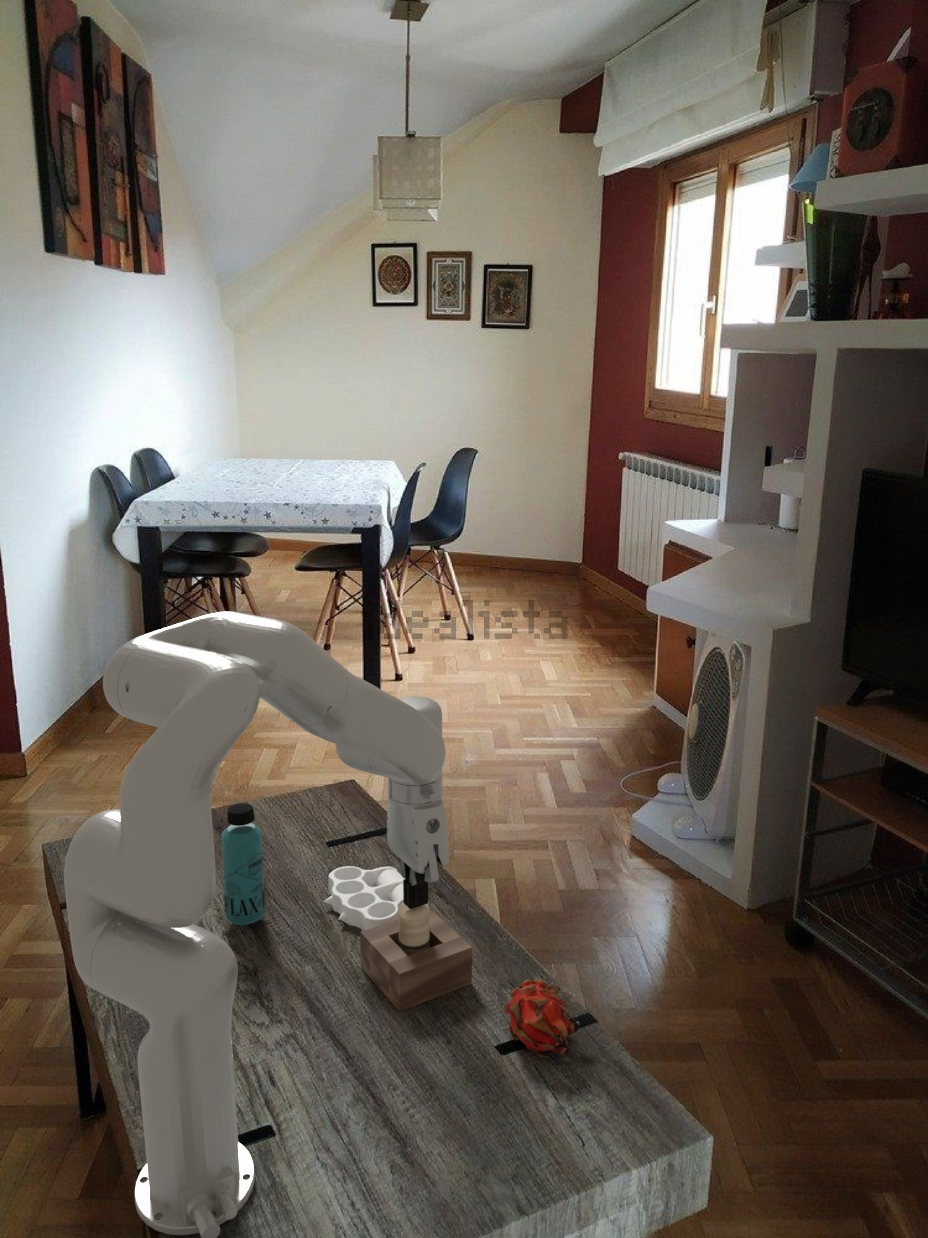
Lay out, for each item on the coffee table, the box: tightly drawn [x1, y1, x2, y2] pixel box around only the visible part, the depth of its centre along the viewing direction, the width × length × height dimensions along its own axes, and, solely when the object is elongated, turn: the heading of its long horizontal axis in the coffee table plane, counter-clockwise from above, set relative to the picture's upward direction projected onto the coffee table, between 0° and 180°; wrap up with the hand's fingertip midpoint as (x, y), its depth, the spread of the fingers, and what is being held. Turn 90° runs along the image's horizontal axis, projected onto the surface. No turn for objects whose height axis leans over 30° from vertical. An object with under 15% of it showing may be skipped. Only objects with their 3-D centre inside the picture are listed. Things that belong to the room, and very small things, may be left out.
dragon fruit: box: [503, 977, 581, 1059], centre depth 130 cm, size 8×8×12 cm
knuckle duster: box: [322, 865, 429, 931], centre depth 162 cm, size 3×18×15 cm
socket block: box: [359, 907, 473, 1012], centre depth 144 cm, size 12×12×6 cm
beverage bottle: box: [220, 802, 267, 926], centre depth 154 cm, size 6×7×20 cm
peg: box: [398, 903, 430, 956], centre depth 143 cm, size 5×5×10 cm
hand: (415, 903), depth 141 cm, fingers closed
